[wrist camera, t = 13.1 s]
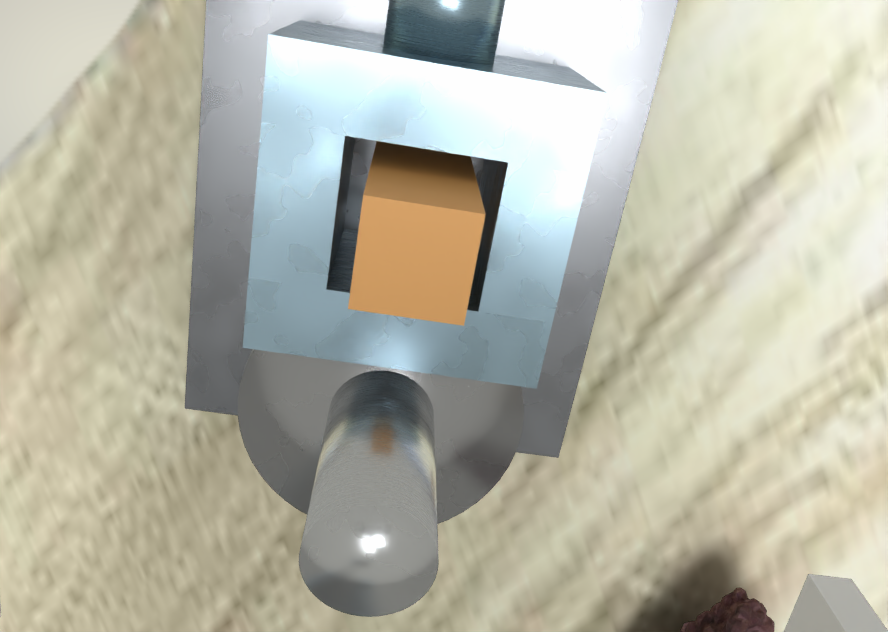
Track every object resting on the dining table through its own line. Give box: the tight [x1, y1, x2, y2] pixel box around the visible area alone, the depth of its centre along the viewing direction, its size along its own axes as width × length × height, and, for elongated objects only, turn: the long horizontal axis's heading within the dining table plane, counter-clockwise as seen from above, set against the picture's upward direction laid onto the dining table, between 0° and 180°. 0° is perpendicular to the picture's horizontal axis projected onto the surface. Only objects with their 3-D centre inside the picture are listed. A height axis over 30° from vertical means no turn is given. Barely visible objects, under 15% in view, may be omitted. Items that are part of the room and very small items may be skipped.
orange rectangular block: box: [348, 141, 486, 326], centre depth 33 cm, size 4×4×12 cm
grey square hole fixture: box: [185, 0, 678, 617], centre depth 33 cm, size 26×20×16 cm
